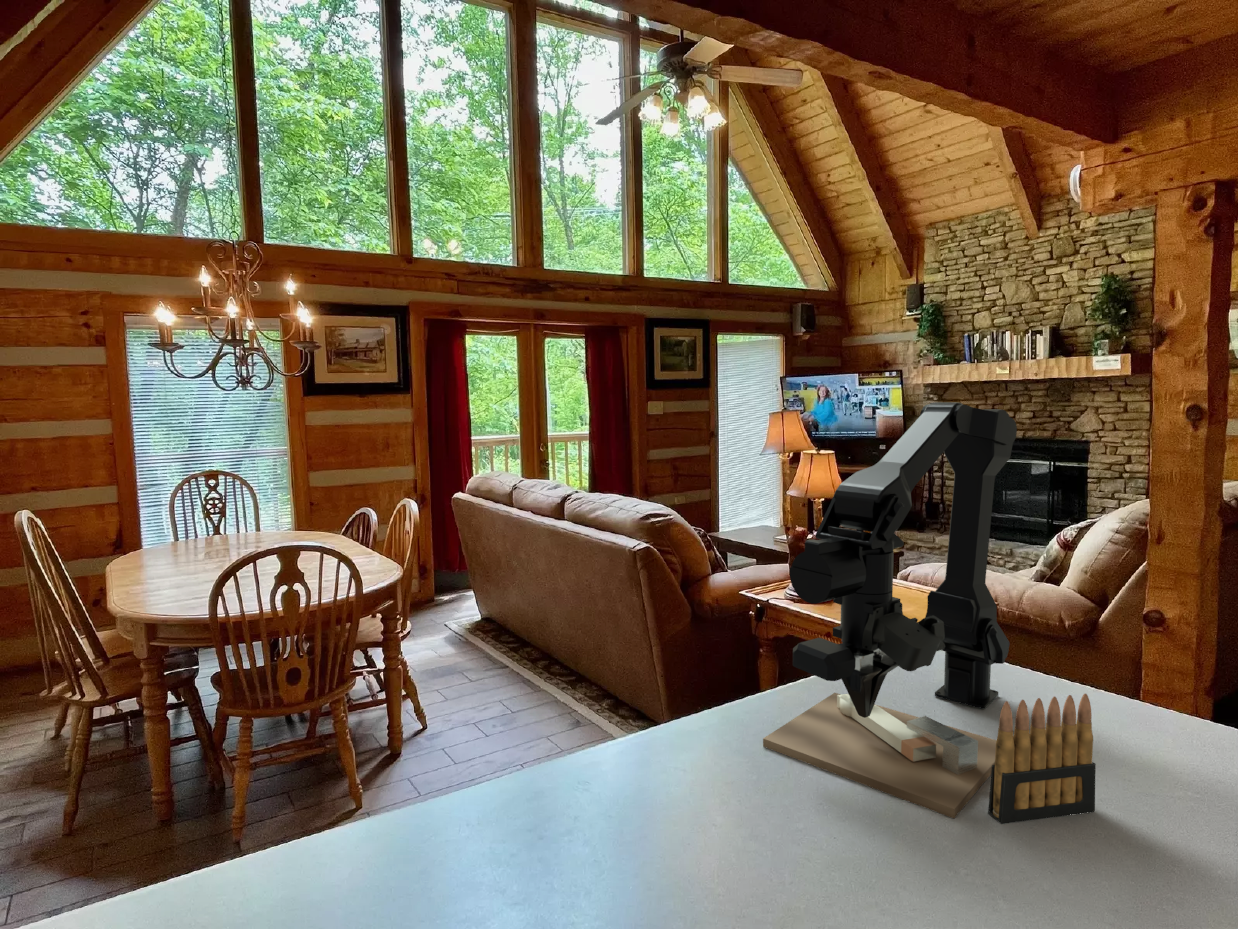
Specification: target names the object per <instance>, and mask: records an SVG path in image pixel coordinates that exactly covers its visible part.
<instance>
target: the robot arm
mask: <svg viewBox="0 0 1238 929" xmlns="http://www.w3.org/2000/svg"><path fill="white" fill-rule="evenodd" d="M1017 431H1018V427H1017V423H1016V421H1015V419H1014V418H1012V417H1010V415H1009V413H1008V412H1007V410H1004V409H997V408H996V409H995V408H993V409H992V408H991V409H990V408H989V409H982V408H976V407H972V406H970V405H967V404H963V403H962V402H942V401H941V402H935V401H934V402H930V403H929V404H925V405H924V406H922V409H921V411H920V414H919V417H918V418H917V419H916V420H915V422H913V424H912V425H911V426H910V427H909V428H907V429H906V431H905V432H904V434H902V436H901V437H900V438H899V439H898V440H897V441H896V443H894V444H893V445H892V447H891V448H890V449H889V450H888V452H886V453H885V455H883V457H882V458H881V459H880V460H879V461H878V462H877V463H875V464H874V465H872V466H869V467H867V468H864V469H860V470H858V471H855V472H854V473H853V474H852V475H851V476H849V477H848V478H846V479H845V480H844V481H842V482H841V483H840V484H839V485H838V486H837V488H836V490H835V491H834V494H833V496H832V499H831V501H830V503H829V506H828V507H827V509H826V511H825V513H824V516H823V518H822V519H821V522H820V524H819V526H818V529H817V530H816V533H815V538H816V539H807V540H805V542H804V551H802V552H800V553H798V554H797V556H795V558H794V560H792V564H791V566H790V568H789V580H790V583H791V587H792V588H793V590H794V592H795V594H796V595H797V596H798V597H799V598H800V599H801V600H803V602H806V603H808V604H812V605H813V604H815V605H816V604H820V603H823V602H827V601H831V600H833V602H832V603H834V604H837V605H840V625H838V626H834V627H832V637H835V638H838V639H840V640H841V642H840V643H835V642H833V641H830V640H827V639H825V638H822V637H817V638H813V639H809V640H805V641H801V642H798V643H797V645H796V644H795V646H794V647H793V648H792V667H794V668H796V669H799V670H801V671H804V672H806V673H808V674H811V675H813V676H815V677H817V678H820V679H821V680H822V679H823V680H824V681H828V682H836V681H840V680H841V681H842V683H843V686H844V687H845V690H846V692H847V694H849V696H850V698H851V700H852V702H853V704H854V707H855V709H856V711H857V713H858V715H859V716H861V717H864V718H866V717H868V716H870V714H871V711H872V709H873V706H874V704H875V703H876V701H877V698H878V695H879V693H880V690H881V687H882V685H883V683H884V681H885V679H886V677H887V675H888V674H889V673H890V672H892V671H893V670H894V669H896V668H898V667H899V668H901V669H902V670H903V671H907V672H915V671H916V670H917V669H919V668H923V667H929V666H931V665H932V663H933V661H934V657H935V656H936V653H937V652H939V651H943V652H944V677H943V678H944V679H943V680H944V681H943V683H944V684H943V685H941V687H939V688H938V689H937V690H935V692H934V696H935V697H937V698H940V699H944V700H947V701H951V702H954V703H959V704H962V705H966V706H970V707H974V708H977V709H981V710H984V709H986V708H987V707H988V706H989V705H990V704H992V703H993V701H994V700H996V698H997V697H998V696H999V691H998V690H995V689H991V673H992V671H991V669H992V667H991V666H992V665H994V664H1001V665H1003V664H1005V663H1006V662H1005V661H1006V659H1007V658H1008V654H1009V649H1010V643H1011V642H1010V641H1009V639H1008V638H1007V636H1006V635H1005V633H1004V631H1003V629H1002V628H1001V626H1000V624H998V622H997V621H998V620H997V619H998V618H997V615H998V614H997V613H998V612H997V611H998V610H997V608H998V607H997V604H996V602H995V601H996V600H994V597H993V595H992V594H991V592H990V590H989V588H988V586H987V584H986V579H987V569H988V568H987V567H988V557H989V545H990V544H989V543H990V536H991V535H990V534H991V524H992V523H991V522H992V513H993V503H994V490H995V482H996V481H995V480H996V476H997V474H999V473H1000V471H1001V469H1002V468H1004V466H1005V465H1006V464H1007V462H1008V461H1009V460H1010V459H1011V457H1012V456H1011V455H1012V451H1013V445H1014V442H1015V440H1016V438H1017V435H1018V434H1017V433H1018V432H1017ZM942 454H944V456H945V458H946V460H947V462H948V463H949V465H950V467H951V470H952V471H953V473H954V475H953V476H954V479H953V490H952V498H951V499H952V500H951V501H952V502H951V512H950V523H949V531H948V532H949V535H948V543H947V544H948V546H947V556H946V565H945V566H946V567H945V569H946V570H945V577H944V580H943V581H942V582H941V583H940V585H939V586H938V587H937V588H936V590H931V591H929V593H928V595H927V607H926V608H927V609H926V613H925V617H924V618H922V619H920V620H919V619H918V618H917V617H912V618H910V617H908V616H906V615H904V612H903V603H902V602H901V598H899V597H895V596H893V591H894V590H893V586H894V582H893V581H894V551H895V550H894V549H898V548H903V546H904V544H905V543H904V541H903V540H902V539H901V537H900V536H898V535H897V534H896V533H895V532H896V531H897V530H898V529H899V528H900V527H901V525H902V524H903V522H904V520H905V519H906V518H907V516H908V514H909V512H910V511H911V509H912V506H913V505H912V492H913V490H914V488H915V487H916V485H917V484H918V483H919V482H920V480H922V478H923V477H924V476H925V475H926V474H927V473H928V471H930V468H932V466H933V465H935V462H937V461H938V459H939V458H940V457H941V456H942ZM841 526H842V527H843V528H842V527H841ZM918 620H919V621H918ZM875 705H876V704H875Z"/></svg>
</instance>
